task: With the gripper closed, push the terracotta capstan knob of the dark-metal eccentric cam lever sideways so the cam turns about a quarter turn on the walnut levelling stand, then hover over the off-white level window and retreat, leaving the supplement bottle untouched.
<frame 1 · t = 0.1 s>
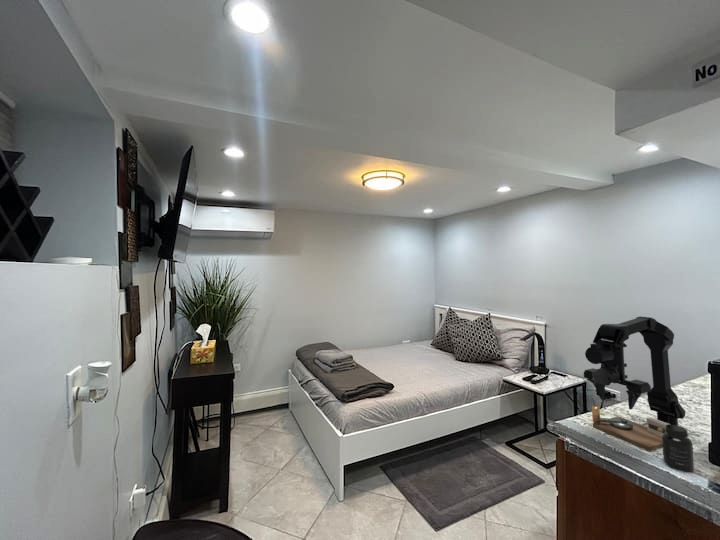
hand: (615, 404, 112), 15 cm above the worktop, fingers open, 9 cm apart
supplement bottle: (678, 466, 99), on the worktop
cam lever: (611, 416, 123), point 5 cm above the worktop, hinge at -40.0°
stand: (632, 434, 119), on the worktop
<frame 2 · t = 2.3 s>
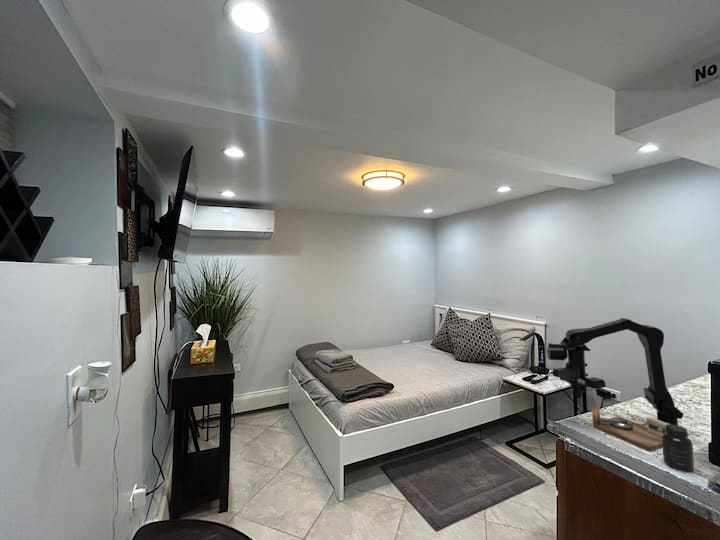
hand: (578, 398, 130), 9 cm above the worktop, fingers closed
nothing on the worktop moved.
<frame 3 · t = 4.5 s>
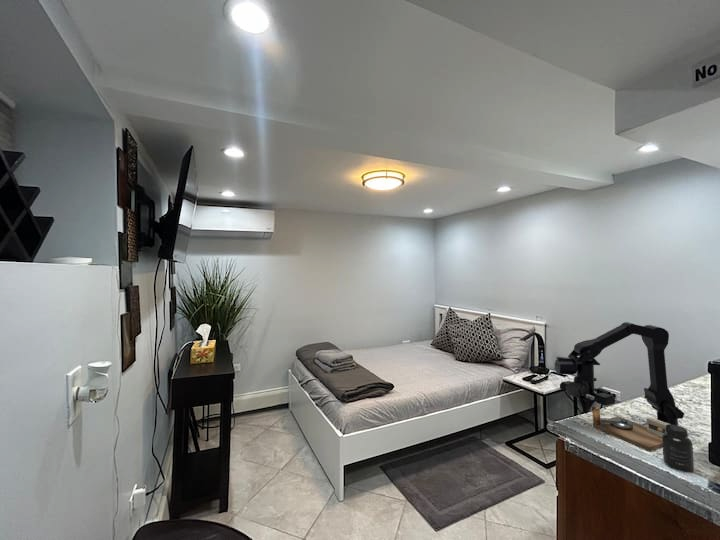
hand: (586, 413, 127), 5 cm above the worktop, fingers closed
cam lever: (611, 416, 123), point 5 cm above the worktop, hinge at -37.6°, touching gripper
everything else where it was.
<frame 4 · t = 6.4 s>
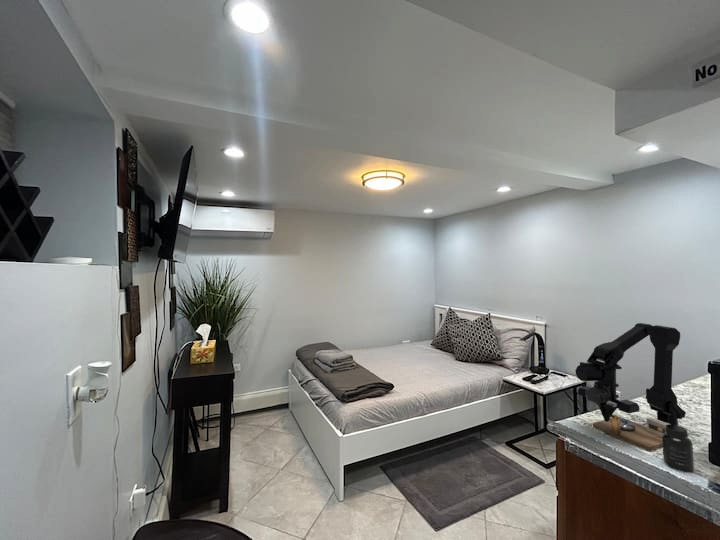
hand: (606, 421, 119), 5 cm above the worktop, fingers closed
cam lever: (620, 420, 120), point 5 cm above the worktop, hinge at 15.8°, touching gripper
everything else where it was.
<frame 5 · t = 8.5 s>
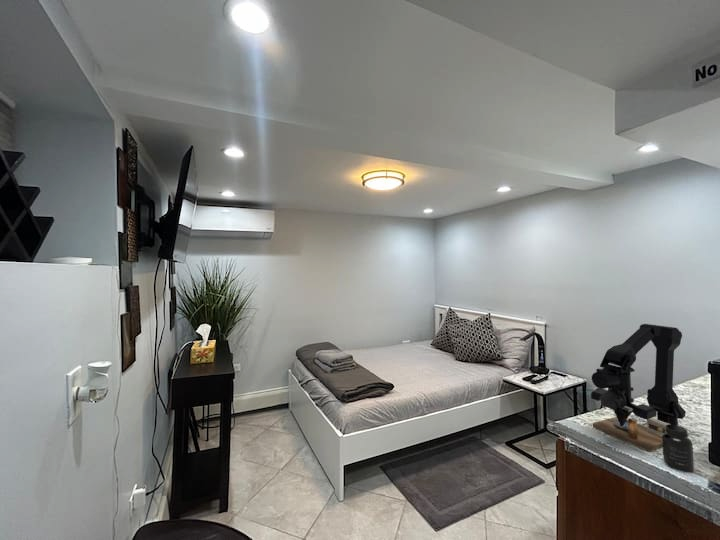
hand: (622, 425, 116), 5 cm above the worktop, fingers closed
cam lever: (627, 421, 118), point 5 cm above the worktop, hinge at 46.9°, touching gripper
everything else where it was.
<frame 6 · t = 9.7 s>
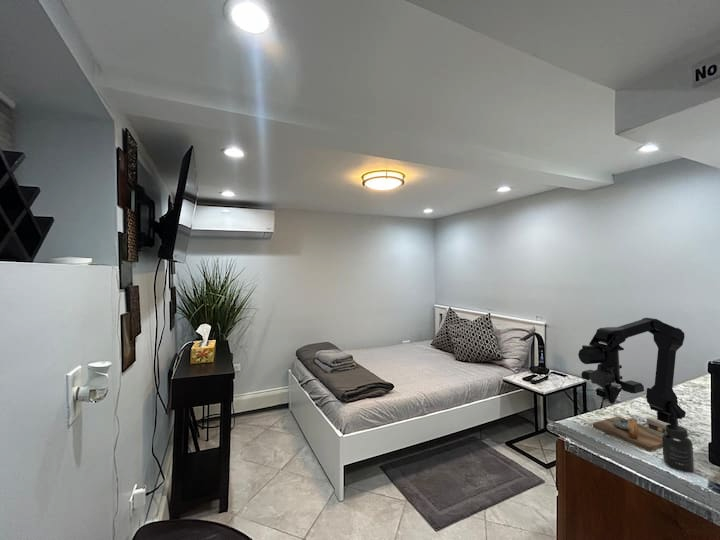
hand: (611, 403, 119), 12 cm above the worktop, fingers closed
cam lever: (627, 421, 118), point 5 cm above the worktop, hinge at 47.0°
everything else where it was.
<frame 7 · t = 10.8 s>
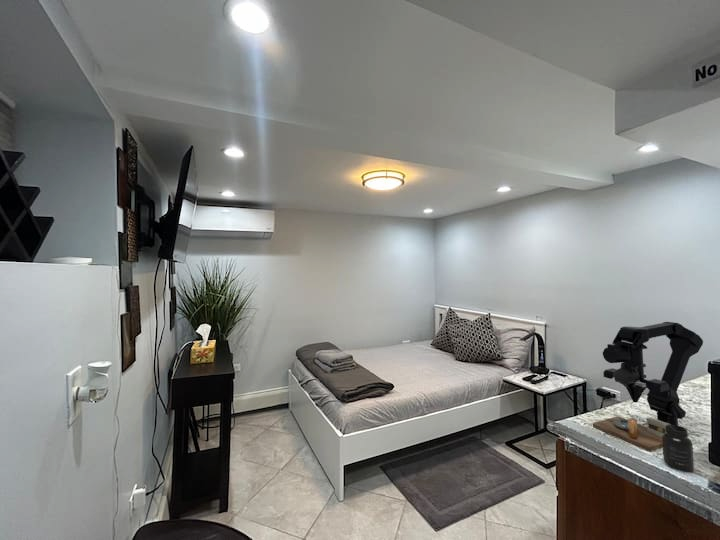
hand: (635, 402, 119), 12 cm above the worktop, fingers closed
nothing on the worktop moved.
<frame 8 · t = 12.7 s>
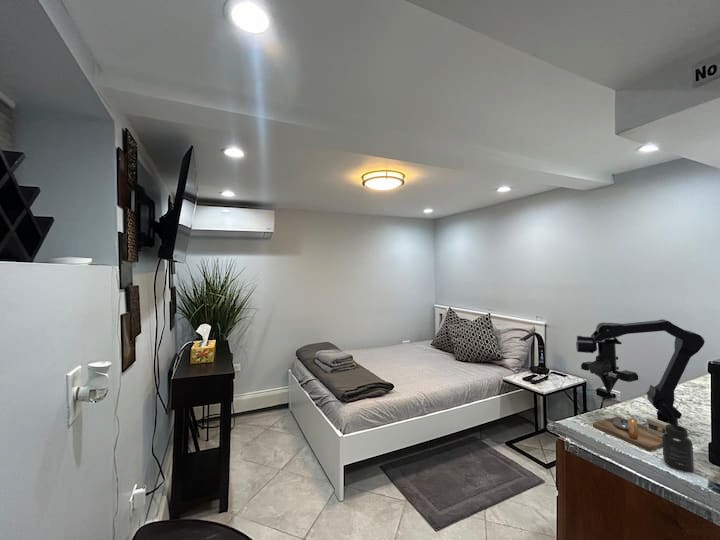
hand: (608, 391, 129), 12 cm above the worktop, fingers closed
nothing on the worktop moved.
at the end: cam lever at +47° (first picture: -40°); supplement bottle moved 0.2 cm from its start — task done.
